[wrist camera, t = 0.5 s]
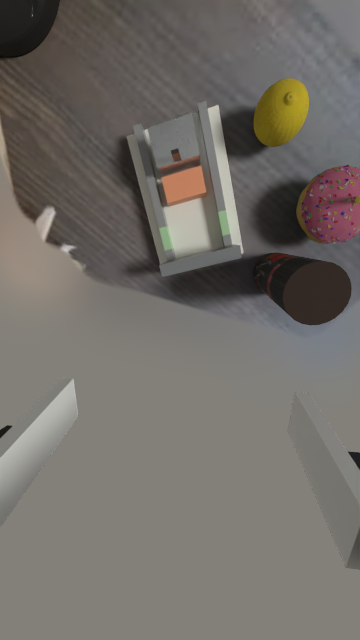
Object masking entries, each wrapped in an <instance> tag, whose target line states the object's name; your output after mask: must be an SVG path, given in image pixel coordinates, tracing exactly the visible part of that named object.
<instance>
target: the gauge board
mask: <svg viewBox="0 0 360 640" xmlns="http://www.w3.org/2000/svg"><path fill="white" fill-rule="evenodd" d="M192 117H193V122H194V127H195V132H196V137H197V143H198V148H199V153H200V164H201V167H202V172H203V177H204V182H205V187H206V196H205V197H202V198H198V199H195V200H191V201H188V202H184V203H181V204H177V205H174V206H170V205H169V204H168V203H167V199H166V195H165V191H164V186H163V182H162V177H163V176H162V175H161V173H160V172H159V170H158V169H157V166H156V162H155V158H154V154H153V150H152V146H151V142H150V137H149V133H148V129H147V130H144V128H143V126H142V125H141V123H140V124H138V125H135V126H133V128H134V132H135V134H132V135H129V136H126V137H127V140H128V144H129V148H130V152H131V156H132V159H133V163H134V167H135V171H136V175H137V178H138V182H139V186H140V190H141V194H142V197H143V201H144V205H145V209H146V213H147V216H148V220H149V224H150V228H151V232H152V235H153V239H154V243H155V247H156V251H157V254H158V258H159V262H160V265H159V267H160V270H161V274H162V277H165V276H169V275H173V274H177V273H181V272H185V271H190V270H194V269H198V268H202V267H206V266H211V265H215V264H219V263H223V262H227V261H231V260H236V259H240V258H242V253H243V248H242V242H241V236H240V230H239V224H238V218H237V213H236V207H235V201H234V195H233V189H232V183H231V177H230V171H229V166H228V160H227V154H226V148H225V142H224V136H223V130H222V125H221V119H220V113H219V107H218V105H217V106H214V107H211V108H207V103H206V101H204V102H201V103H198V112H196V113H193V114H192Z"/></svg>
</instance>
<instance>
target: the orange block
mask: <svg viewBox="0 0 360 640" xmlns="http://www.w3.org/2000/svg"><path fill="white" fill-rule="evenodd" d="M162 182H163V186H164V191H165V195H166V199H167V203H168V204H169V205H170V206H174V205H177V204H181V203H184V202H188V201H191V200H195V199H198V198H202V197H205V196H206V187H205V182H204V177H203V172H202V167H201V166H198V167H194V168H191V169H188V170H185V171H181V172H178V173H175V174H171V175H168V176H165V177H162Z"/></svg>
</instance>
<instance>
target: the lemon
mask: <svg viewBox="0 0 360 640" xmlns="http://www.w3.org/2000/svg"><path fill="white" fill-rule="evenodd" d="M308 108H309V97H308V92H307V90H306V88H305V86H304V85H303V84H302V83H301V82H300V81H298V80H296V79H292V78H288V79H283V80H280V81H278V82H276V83H275V84H273V85H272V86H271V87H270V88H269V89H268V90H267V91H266V92H265V93H264V94H263V96H262V97H261V99H260V101H259V102H258V105H257V107H256V110H255V114H254V121H253V122H254V131H255V134H256V136H257V138H258V139H259V141H260V142H261V143H263V144H264V145H266V146H270V147H276V146H281V145H283V144H285V143H287V142H288V141H290V140H291V139H292V138H294V136H295V135H296V134H297V133H298V132H299V131H300V129H301V127H302V125H303V124H304V122H305V119H306V116H307V113H308Z"/></svg>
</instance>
